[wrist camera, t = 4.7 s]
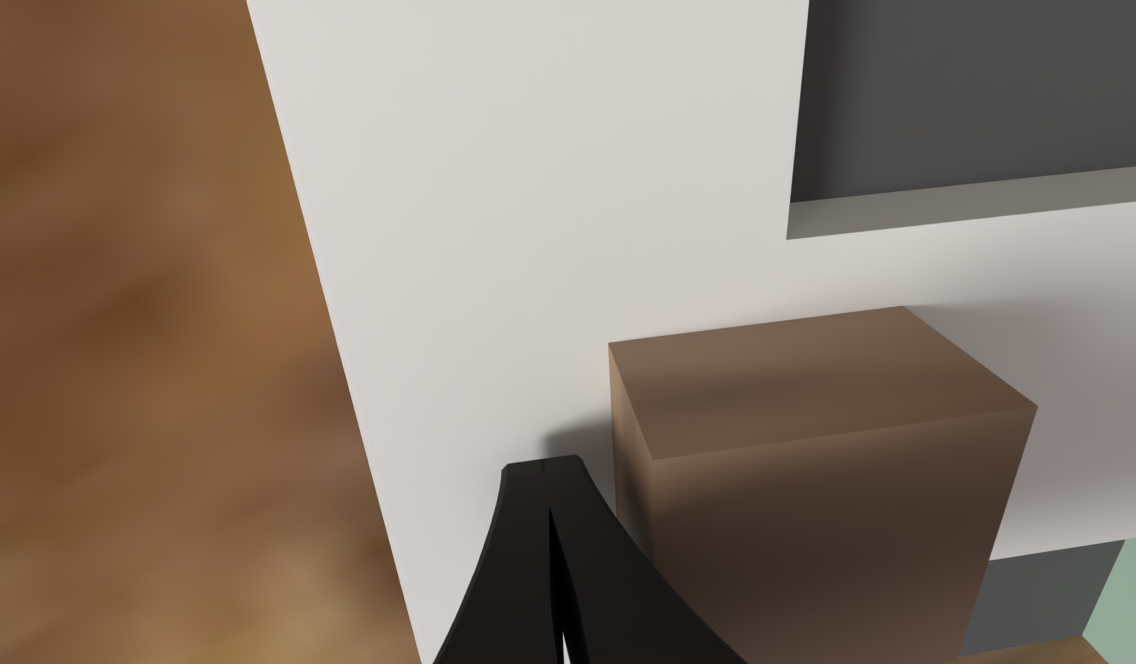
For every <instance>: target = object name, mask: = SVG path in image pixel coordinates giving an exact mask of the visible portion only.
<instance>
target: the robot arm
mask: <svg viewBox="0 0 1136 664" xmlns="http://www.w3.org/2000/svg"><path fill="white" fill-rule="evenodd" d="M563 635H564V640H565V644H566V648H567V653H568V657H569V661H570V664H748V663H747V662H746V661H745V660H744V659H743V658H742V657H740V656H739V655H738V654H737V653H736V652H735V651H734V650H733V649H732V648H731V647H730V646H729V645H728V644H727V643H726V642H725V641H723V640H722V639H721V638H720V637H719V636H718V635H717V634H716V633H715V632H714V631H713V630H712V629H711V628H710V627H709V626H708V625H707V624H706V623H705V622H704V621H703V620H702V619H701V618H700V617H699V616H698V615H697V614H696V613H695V612H694V611H693V610H692V609H691V608H690V607H689V606H688V605H687V603H686V602H685V601H684V600H683V599H682V598H681V597H680V596H679V595H678V594H677V593H676V591H675V590H674V589H673V588H672V587H671V586H670V585H669V584H668V582H667V581H666V580H665V579H664V578H663V577H662V575H661V574H660V573H659V572H658V571H657V570H656V568H655V567H654V566H653V565H652V564H651V562H650V561H649V560H648V559H647V557H646V556H645V555H644V554H643V552H642V551H641V550H640V549H639V547H638V546H637V545H636V543H635V542H634V541H633V539H632V538H631V537H630V535H629V534H628V533H627V531H626V530H625V529H624V527H623V526H622V525H621V523H620V522H619V520H618V519H617V518H616V516H615V515H614V513H613V512H612V510H611V509H610V507H609V506H608V504H607V503H606V501H605V500H604V498H603V496H602V495H601V493H600V492H599V490H598V488H597V487H596V485H595V483H594V482H593V480H592V478H591V476H590V474H589V472H588V470H587V468H586V466H585V464H584V462H583V459H582V458H580V457H579V456H577V455H576V454H574V455H566V456H559V457H552V458H544V459H537V460H530V461H522V462H515V463H508V464H507V465H506V466H505V467H504V468H503V469H502V470H501V481H500V487H499V493H498V498H497V502H496V506H495V510H494V513H493V517H492V521H491V524H490V528H489V531H488V533H487V536H486V539H485V542H484V545H483V548H482V551H481V554H480V557H479V560H478V563H477V566H476V568H475V571H474V574H473V576H472V578H471V581H470V583H469V586H468V588H467V590H466V593H465V595H464V598H463V600H462V603H461V605H460V607H459V610H458V612H457V614H456V617H455V619H454V621H453V623H452V625H451V627H450V630H449V632H448V634H447V636H446V638H445V640H444V642H443V644H442V646H441V648H440V650H439V652H438V654H437V656H436V658H435V660H434V662H433V664H564V645H563Z"/></svg>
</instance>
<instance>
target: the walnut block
mask: <svg viewBox="0 0 1136 664" xmlns="http://www.w3.org/2000/svg"><path fill="white" fill-rule="evenodd" d="M608 354H609V374H610V394H611V415H612V435H613V456H614V476H615V496H616V517H617V519H618V520H619V522H620V523H621V525H622V526H623V527H624V529H625V530H626V531H627V533H628V534H629V535H630V537H631V538H632V539H633V541H634V542H635V543H636V545H637V546H638V547H639V549H640V550H641V551H642V552H643V554H644V555H645V556H646V557H647V559H648V560H649V561H650V562H651V564H652V565H653V566H654V567H655V568H656V570H657V571H658V572H659V573H660V574H661V575H662V577H663V578H664V579H665V580H666V581H667V582H668V584H669V585H670V586H671V587H672V588H673V589H674V590H675V591H676V593H677V594H678V595H679V596H680V597H681V598H682V599H683V600H684V601H685V602H686V603H687V605H688V606H689V607H690V608H691V609H692V610H693V611H694V612H695V613H696V614H697V615H698V616H699V617H700V618H701V619H702V620H703V621H704V622H705V623H706V624H707V625H708V626H709V627H710V628H711V629H712V630H713V631H714V632H715V633H716V634H717V635H718V636H719V637H720V638H721V639H722V640H723V641H725V642H726V643H727V644H728V645H729V646H730V647H731V648H732V649H733V650H734V651H735V652H736V653H737V654H738V655H739V656H740V657H742V658H743V659H744V660H745V661H746V662H747V663H748V664H938V663H944V662H950V661H956V660H957V659H958V656H959V653H960V649H961V646H962V643H963V640H964V637H965V634H966V631H967V628H968V624H969V621H970V618H971V615H972V612H973V609H974V606H975V603H976V599H977V596H978V593H979V590H980V587H981V584H982V581H983V578H984V574H985V571H986V568H987V565H988V562H989V559H990V556H991V552H992V549H993V546H994V543H995V540H996V537H997V534H998V531H999V527H1000V524H1001V521H1002V518H1003V515H1004V512H1005V509H1006V506H1007V502H1008V499H1009V496H1010V493H1011V490H1012V487H1013V484H1014V481H1015V477H1016V474H1017V471H1018V468H1019V465H1020V462H1021V459H1022V456H1023V452H1024V449H1025V446H1026V443H1027V440H1028V437H1029V434H1030V431H1031V427H1032V424H1033V421H1034V418H1035V415H1036V412H1037V409H1038V406H1037V405H1036V404H1035V403H1033V402H1032V401H1031V400H1029V399H1028V398H1026V397H1025V396H1024V395H1022V394H1021V393H1020V392H1018V391H1017V390H1016V389H1014V388H1013V387H1012V386H1010V385H1009V384H1008V383H1006V382H1005V381H1004V380H1002V379H1001V378H1000V377H998V376H997V375H996V374H994V373H993V372H991V371H990V370H989V369H987V368H986V367H985V366H983V365H982V364H981V363H979V362H978V361H977V360H975V359H974V358H973V357H971V356H970V355H969V354H967V353H966V352H965V351H963V350H962V349H960V348H959V347H958V346H956V345H955V344H954V343H952V342H951V341H950V340H948V339H947V338H946V337H944V336H943V335H942V334H940V333H939V332H938V331H936V330H935V329H934V328H932V327H931V326H930V325H928V324H927V323H925V322H924V321H923V320H921V319H920V318H919V317H917V316H916V315H915V314H913V313H912V312H911V311H909V310H908V309H907V308H905V307H904V306H897V307H889V308H881V309H873V310H865V311H857V312H849V313H841V314H833V315H825V316H817V317H809V318H801V319H793V320H785V321H777V322H770V323H762V324H754V325H746V326H738V327H730V328H722V329H714V330H706V331H698V332H690V333H682V334H674V335H666V336H658V337H650V338H642V339H634V340H626V341H618V342H610V343H608Z"/></svg>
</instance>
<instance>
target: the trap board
mask: <svg viewBox="0 0 1136 664" xmlns="http://www.w3.org/2000/svg"><path fill="white" fill-rule="evenodd" d="M247 4H248V8H249V12H250V15H251V19H252V23H253V27H254V31H255V34H256V38H257V42H258V46H259V49H260V53H261V57H262V61H263V65H264V68H265V72H266V76H267V80H268V84H269V87H270V91H271V95H272V99H273V102H274V106H275V110H276V114H277V118H278V121H279V125H280V129H281V133H282V136H283V140H284V144H285V148H286V152H287V155H288V159H289V163H290V167H291V171H292V174H293V178H294V182H295V186H296V189H297V193H298V197H299V201H300V205H301V208H302V212H303V216H304V220H305V224H306V227H307V231H308V235H309V239H310V242H311V246H312V250H313V254H314V258H315V261H316V265H317V269H318V273H319V276H320V280H321V284H322V288H323V292H324V295H325V299H326V303H327V307H328V311H329V314H330V318H331V322H332V326H333V329H334V333H335V337H336V341H337V345H338V348H339V352H340V356H341V360H342V363H343V367H344V371H345V375H346V379H347V382H348V386H349V390H350V394H351V398H352V401H353V405H354V409H355V413H356V416H357V420H358V424H359V428H360V432H361V435H362V439H363V443H364V447H365V450H366V454H367V458H368V462H369V466H370V469H371V473H372V477H373V481H374V485H375V488H376V492H377V496H378V500H379V503H380V507H381V511H382V515H383V519H384V522H385V526H386V530H387V534H388V538H389V541H390V545H391V549H392V553H393V556H394V560H395V564H396V568H397V572H398V575H399V579H400V583H401V587H402V590H403V594H404V598H405V602H406V606H407V609H408V613H409V617H410V621H411V625H412V628H413V632H414V636H415V640H416V643H417V647H418V651H419V655H420V659H421V662H422V664H433V662H434V660H435V658H436V656H437V654H438V652H439V650H440V648H441V646H442V644H443V642H444V640H445V638H446V636H447V634H448V632H449V630H450V627H451V625H452V623H453V621H454V619H455V617H456V614H457V612H458V610H459V607H460V605H461V603H462V600H463V598H464V595H465V593H466V590H467V588H468V586H469V583H470V581H471V578H472V576H473V574H474V571H475V568H476V566H477V563H478V560H479V557H480V554H481V551H482V548H483V545H484V542H485V539H486V536H487V533H488V531H489V528H490V524H491V521H492V517H493V513H494V510H495V506H496V502H497V498H498V493H499V487H500V481H501V470H502V469H503V468H504V467H505V466H506V465H507V464H508V463H515V462H522V461H530V460H537V459H544V458H552V457H559V456H566V455H574V454H576V455H577V456H579V457H580V458H582V459H583V462H584V464H585V466H586V468H587V470H588V472H589V474H590V476H591V478H592V480H593V482H594V483H595V485H596V487H597V488H598V490H599V492H600V493H601V495H602V496H603V498H604V500H605V501H606V503H607V504H608V506H609V507H610V509H611V510H612V512H613V513H614V515H615V516H616V496H615V476H614V456H613V435H612V415H611V394H610V374H609V354H608V343H610V342H618V341H626V340H634V339H642V338H650V337H658V336H666V335H674V334H682V333H690V332H698V331H706V330H714V329H722V328H730V327H738V326H746V325H754V324H762V323H770V322H777V321H785V320H793V319H801V318H809V317H817V316H825V315H833V314H841V313H849V312H857V311H865V310H873V309H881V308H889V307H897V306H904V307H905V308H907V309H908V310H909V311H911V312H912V313H913V314H915V315H916V316H917V317H919V318H920V319H921V320H923V321H924V322H925V323H927V324H928V325H930V326H931V327H932V328H934V329H935V330H936V331H938V332H939V333H940V334H942V335H943V336H944V337H946V338H947V339H948V340H950V341H951V342H952V343H954V344H955V345H956V346H958V347H959V348H960V349H962V350H963V351H965V352H966V353H967V354H969V355H970V356H971V357H973V358H974V359H975V360H977V361H978V362H979V363H981V364H982V365H983V366H985V367H986V368H987V369H989V370H990V371H991V372H993V373H994V374H996V375H997V376H998V377H1000V378H1001V379H1002V380H1004V381H1005V382H1006V383H1008V384H1009V385H1010V386H1012V387H1013V388H1014V389H1016V390H1017V391H1018V392H1020V393H1021V394H1022V395H1024V396H1025V397H1026V398H1028V399H1029V400H1031V401H1032V402H1033V403H1035V404H1036V405H1037V406H1038V409H1037V412H1036V415H1035V418H1034V421H1033V424H1032V427H1031V431H1030V434H1029V437H1028V440H1027V443H1026V446H1025V449H1024V452H1023V456H1022V459H1021V462H1020V465H1019V468H1018V471H1017V474H1016V477H1015V481H1014V484H1013V487H1012V490H1011V493H1010V496H1009V499H1008V502H1007V506H1006V509H1005V512H1004V515H1003V518H1002V521H1001V524H1000V527H999V531H998V534H997V537H996V540H995V543H994V546H993V549H992V552H991V556H990V559H989V562H988V565H987V568H986V571H985V574H984V578H983V581H982V584H981V587H980V590H979V593H978V596H977V599H976V603H975V606H974V609H973V612H972V615H971V618H970V621H969V624H968V628H967V631H966V634H965V637H964V640H963V643H962V646H961V649H960V653H959V656H961V655H967V654H973V653H979V652H984V651H990V650H996V649H1002V648H1008V647H1014V646H1020V645H1026V644H1032V643H1038V642H1044V641H1050V640H1056V639H1062V638H1068V637H1074V636H1080V635H1082V636H1083V637H1084V638H1085V639H1086V640H1087V641H1088V642H1089V643H1090V644H1091V645H1092V646H1093V647H1094V648H1095V649H1096V651H1097V652H1098V653H1099V654H1100V655H1101V656H1102V657H1103V658H1104V659H1105V660H1106V661H1107V662H1108V663H1109V664H1136V0H247ZM616 518H617V517H616ZM563 645H564V664H570V661H569V657H568V653H567V648H566V644H565V640H564V635H563Z"/></svg>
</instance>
